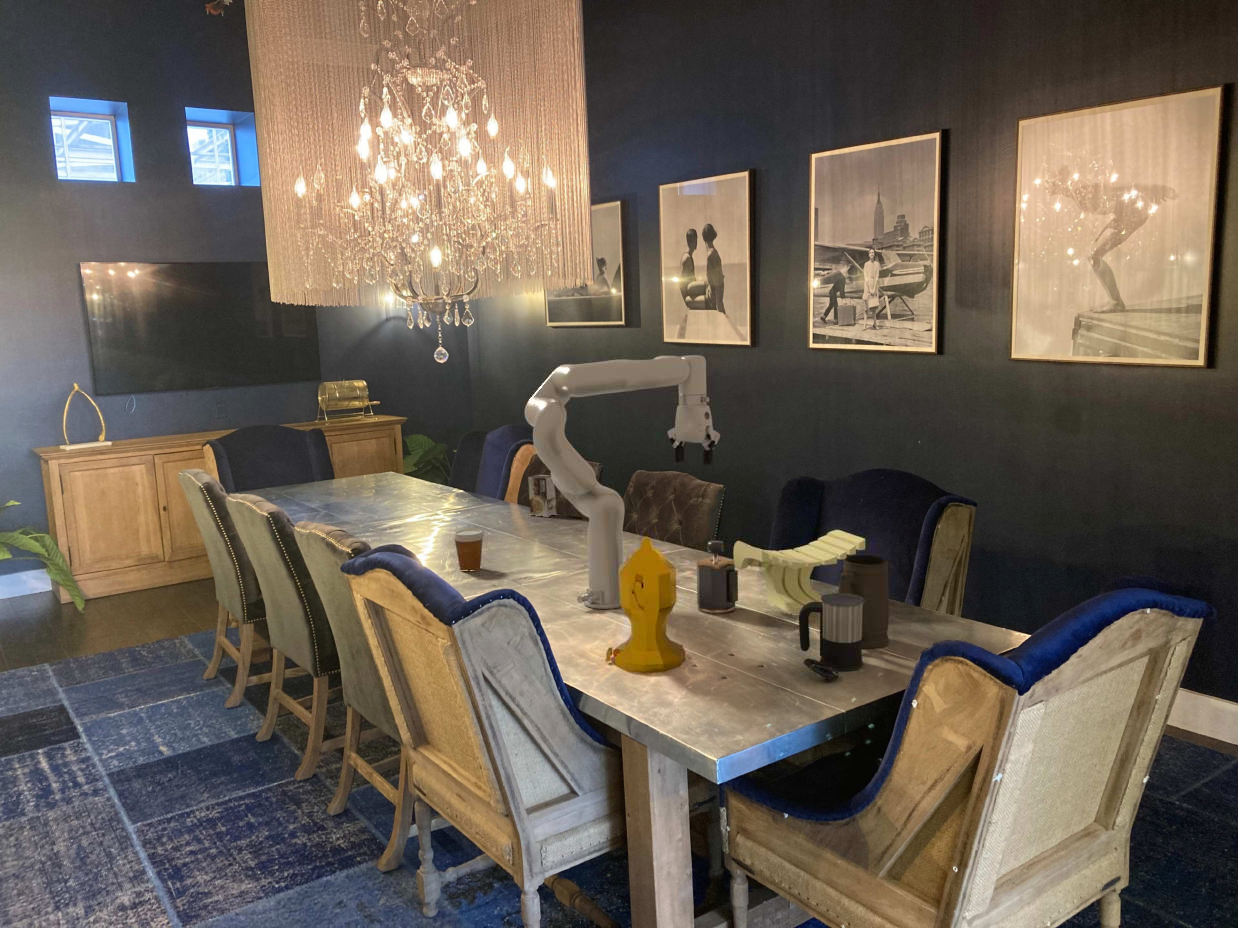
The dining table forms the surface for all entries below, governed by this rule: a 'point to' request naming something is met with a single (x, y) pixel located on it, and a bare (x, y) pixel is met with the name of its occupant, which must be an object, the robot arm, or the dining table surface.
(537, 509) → the coffee box
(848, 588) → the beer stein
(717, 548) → the plunger
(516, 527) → the dining table surface
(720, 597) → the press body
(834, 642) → the milk frother
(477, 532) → the glass of beer
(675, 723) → the dining table surface
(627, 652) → the yellow tall piece
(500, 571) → the dining table surface
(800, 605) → the slatted curved stool
